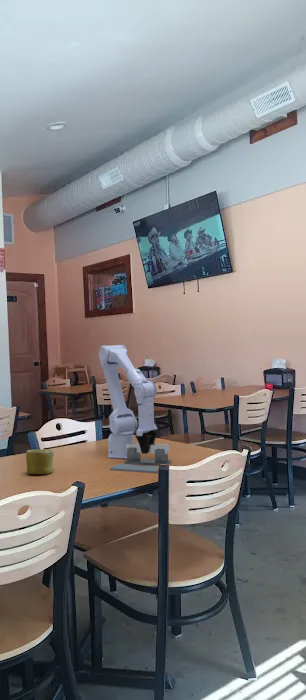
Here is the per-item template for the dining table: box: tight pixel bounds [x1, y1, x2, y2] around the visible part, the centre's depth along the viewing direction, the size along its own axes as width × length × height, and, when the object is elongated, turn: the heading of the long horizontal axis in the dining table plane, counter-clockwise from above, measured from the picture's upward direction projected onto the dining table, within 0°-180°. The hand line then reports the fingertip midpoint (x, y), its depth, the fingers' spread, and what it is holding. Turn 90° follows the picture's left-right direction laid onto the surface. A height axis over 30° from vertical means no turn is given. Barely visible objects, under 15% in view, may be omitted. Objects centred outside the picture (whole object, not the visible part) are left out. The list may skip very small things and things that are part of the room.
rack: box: [124, 448, 172, 466], centre depth 210 cm, size 16×6×6 cm, turn 68°
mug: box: [25, 448, 55, 475], centre depth 201 cm, size 12×10×10 cm
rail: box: [126, 441, 170, 454], centre depth 210 cm, size 16×3×3 cm, turn 69°
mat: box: [109, 463, 159, 474], centre depth 201 cm, size 18×7×1 cm, turn 69°
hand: (147, 452), depth 210 cm, fingers open, 4 cm apart
